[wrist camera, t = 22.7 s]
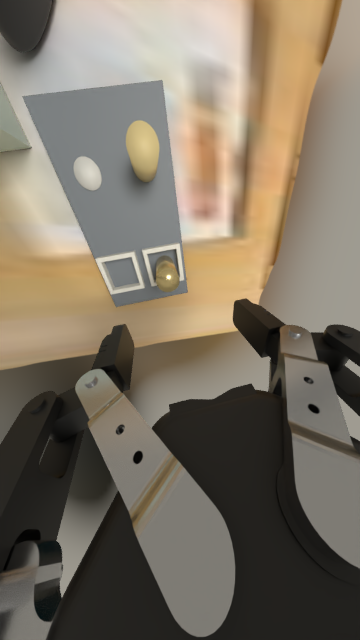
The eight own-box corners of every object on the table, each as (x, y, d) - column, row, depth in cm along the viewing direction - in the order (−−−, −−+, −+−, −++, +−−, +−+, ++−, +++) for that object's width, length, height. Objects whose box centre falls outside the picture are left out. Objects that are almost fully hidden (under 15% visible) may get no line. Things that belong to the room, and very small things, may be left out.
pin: (159, 275, 26) (160, 294, 20) (153, 258, 25) (152, 273, 18) (175, 270, 26) (182, 288, 20) (170, 252, 24) (176, 266, 18)
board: (117, 303, 29) (108, 324, 23) (32, 106, 16) (-44, 32, 10) (186, 289, 30) (195, 306, 24) (161, 90, 17) (168, 13, 10)
